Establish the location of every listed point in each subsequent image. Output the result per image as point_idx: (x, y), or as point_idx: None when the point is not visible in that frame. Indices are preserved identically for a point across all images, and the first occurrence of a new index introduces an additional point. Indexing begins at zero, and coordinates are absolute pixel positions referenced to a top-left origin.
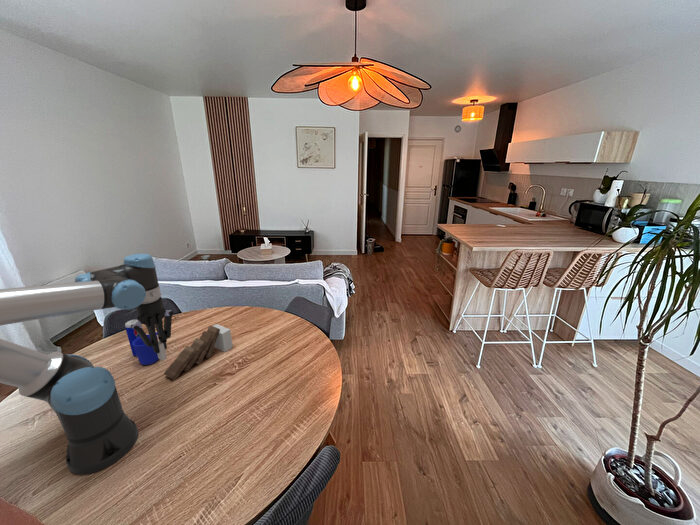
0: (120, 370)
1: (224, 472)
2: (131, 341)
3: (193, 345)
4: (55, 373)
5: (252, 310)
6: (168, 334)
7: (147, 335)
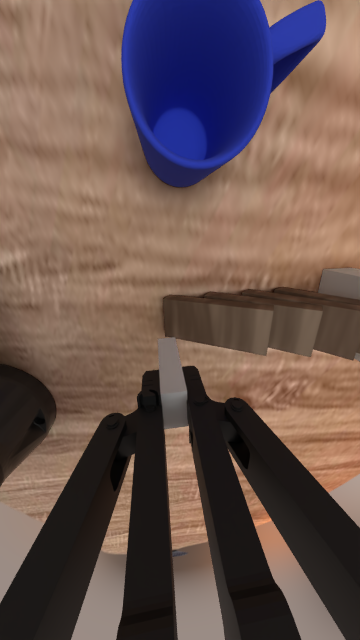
0: (75, 93)
1: (120, 522)
2: None
3: (284, 317)
4: None
5: None
6: (239, 453)
7: (244, 1)
